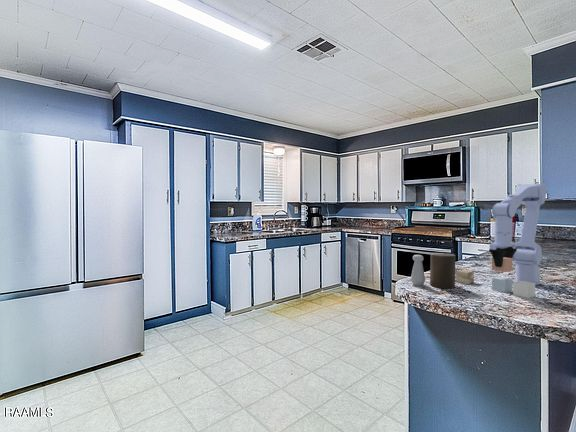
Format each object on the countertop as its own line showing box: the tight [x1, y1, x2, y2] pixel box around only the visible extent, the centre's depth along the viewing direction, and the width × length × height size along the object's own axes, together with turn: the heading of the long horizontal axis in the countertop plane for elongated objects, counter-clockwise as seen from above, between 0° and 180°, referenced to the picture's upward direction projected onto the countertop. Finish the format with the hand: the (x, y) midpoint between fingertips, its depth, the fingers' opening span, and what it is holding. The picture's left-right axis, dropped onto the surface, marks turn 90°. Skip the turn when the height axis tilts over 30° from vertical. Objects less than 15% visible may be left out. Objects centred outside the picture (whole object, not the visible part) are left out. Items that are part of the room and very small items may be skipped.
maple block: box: [455, 269, 475, 285], centre depth 143 cm, size 5×5×5 cm
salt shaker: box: [410, 254, 426, 287], centre depth 138 cm, size 6×6×13 cm
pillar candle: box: [429, 251, 456, 290], centre depth 136 cm, size 10×10×15 cm
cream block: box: [512, 281, 536, 299], centre depth 121 cm, size 5×5×5 cm
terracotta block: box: [491, 257, 513, 273], centre depth 128 cm, size 5×5×5 cm
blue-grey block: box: [491, 276, 514, 294], centre depth 128 cm, size 5×5×5 cm
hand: (502, 266), depth 128 cm, fingers closed on terracotta block, 5 cm apart
